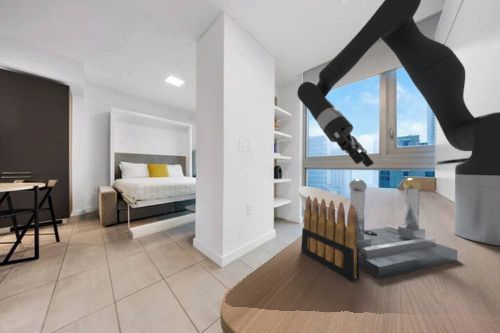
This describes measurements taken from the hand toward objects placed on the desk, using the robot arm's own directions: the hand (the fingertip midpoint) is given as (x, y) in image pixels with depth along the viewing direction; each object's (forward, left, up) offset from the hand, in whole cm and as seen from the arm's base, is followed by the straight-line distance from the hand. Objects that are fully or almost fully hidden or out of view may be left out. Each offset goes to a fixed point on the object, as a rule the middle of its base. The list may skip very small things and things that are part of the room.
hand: (365, 163), depth 46 cm
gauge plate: (+6, +9, -20) cm, 22 cm away
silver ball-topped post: (+14, +7, -18) cm, 23 cm away
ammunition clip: (+22, +9, -20) cm, 31 cm away
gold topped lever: (-3, +7, -17) cm, 19 cm away
